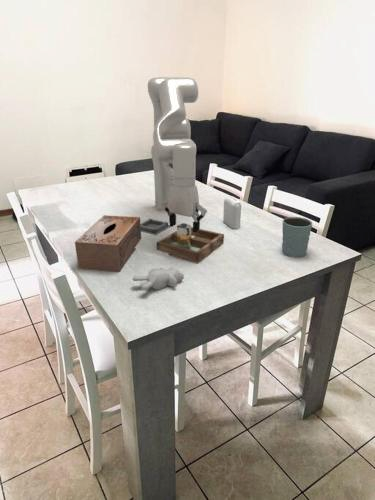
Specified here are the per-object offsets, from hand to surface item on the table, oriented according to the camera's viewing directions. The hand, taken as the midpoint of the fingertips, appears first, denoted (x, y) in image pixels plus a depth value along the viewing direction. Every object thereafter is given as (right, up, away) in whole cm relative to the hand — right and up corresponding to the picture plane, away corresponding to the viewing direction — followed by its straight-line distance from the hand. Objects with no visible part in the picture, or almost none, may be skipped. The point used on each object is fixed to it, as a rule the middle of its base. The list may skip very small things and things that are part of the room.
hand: (184, 228), depth 130 cm
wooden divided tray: (+3, -7, +7) cm, 10 cm away
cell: (0, -7, +3) cm, 8 cm away
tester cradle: (-13, +1, +23) cm, 27 cm away
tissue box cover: (-26, -9, +3) cm, 28 cm away
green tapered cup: (+40, -9, +4) cm, 41 cm away
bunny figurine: (-7, -19, -17) cm, 27 cm away
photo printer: (+20, +3, +28) cm, 35 cm away
